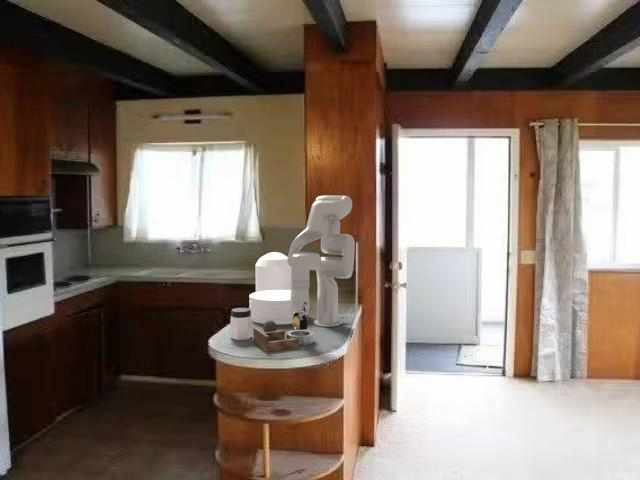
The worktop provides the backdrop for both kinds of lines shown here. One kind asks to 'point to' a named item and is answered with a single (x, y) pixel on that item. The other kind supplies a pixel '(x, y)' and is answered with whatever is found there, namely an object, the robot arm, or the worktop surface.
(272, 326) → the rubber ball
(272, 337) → the walnut housing
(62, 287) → the worktop surface
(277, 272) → the container
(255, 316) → the plate stack
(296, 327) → the brass ball
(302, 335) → the steel race
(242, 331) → the jar
